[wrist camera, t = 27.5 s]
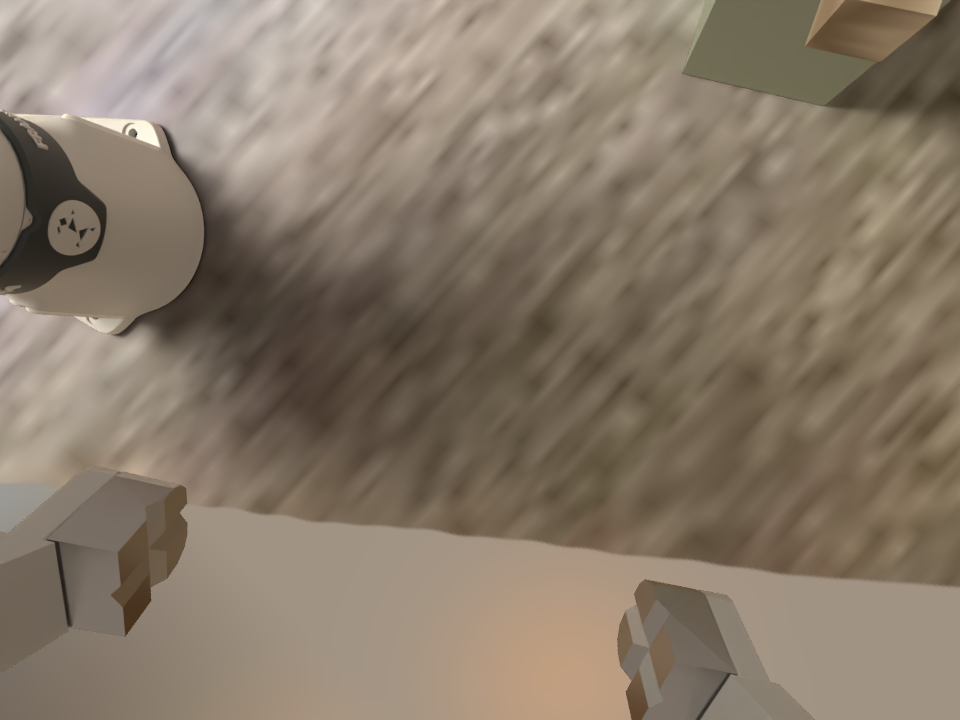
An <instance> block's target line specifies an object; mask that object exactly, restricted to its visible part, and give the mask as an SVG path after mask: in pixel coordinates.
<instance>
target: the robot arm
mask: <svg viewBox="0 0 960 720" xmlns="http://www.w3.org/2000/svg"><path fill="white" fill-rule="evenodd" d="M136 133H137V137H136V138H135V135H136ZM203 243H204V221H203V214H202V209H201V206H200V202H199V199H198V197H197V194H196V192H195V190H194V188H193V186H192V184H191V183H190V181H189V179H188V178H187V176H186V175H185V174H184V173H183V171H182V170H181V169H180V168H179V166H178V165H177V164H176V162H175V161H174V159H173V157H172V155H171V152H170V148H169V145H168V141H167V139H166V136H165V133H164V131H163V130H162V128H161V127H160V126H159V125H158V124H156V123H153V122H150V121H147V120H138V119H116V118H95V117H77V116H74V115H70V114H64V115H63V116H53V115H32V114H12V113H10V112H8V111H5V110H2V109H0V295H7V296H8V297H9V298H10V299H9V302H10V303H11V304H14V305H16V306H20V307H26V309H27V311H28V312H31V313H35V314H43V315H59V316H74V317H75V318H77V319H79V320H80V321H82V322H84V323H85V324H87V325H89V326H90V327H92V328H94V329H95V330H97V331H99V332H101V333H103V334H113V335H115V334H118V333H120V332H122V331H123V330H124V329H126V328H127V327H128V326H129V325H130V324H131V323H132V322H133V321H134V320H135V319H136V318H137V317H138V316H140V315H142V314H144V313H147V312H150V311H153V310H156V309H158V308H160V307H162V306H164V305H166V304H168V303H169V302H171V301H172V300H173V299H175V298H176V297H177V296H178V295H179V294H180V293H181V292H182V291H183V290H184V289H185V288H186V286H187V285H188V284H189V282H190V281H191V279H192V277H193V275H194V273H195V271H196V269H197V267H198V264H199V261H200V258H201V254H202V250H203ZM186 504H187V494H186V488H185V487H183V486H182V485H179V484H175V483H171V482H166V481H162V480H157V479H153V478H149V477H144V476H140V475H136V474H131V473H127V472H120V471H115V470H111V469H107V468H103V467H98V466H91V467H88V468H85V469H83V470H81V471H80V472H79V473H78V474H76V475H75V476H74V477H73V478H72V479H71V480H69V481H68V482H67V483H66V484H65V485H64V486H62V487H61V488H60V489H59V490H58V491H57V492H55V493H54V494H53V495H52V496H51V497H50V498H48V499H47V500H46V501H45V502H44V503H43V504H41V505H40V506H39V507H38V508H37V509H35V510H34V511H33V512H32V513H31V514H30V515H28V516H27V517H26V518H25V519H24V520H23V521H21V522H20V523H19V524H18V525H17V526H15V527H14V528H13V529H12V530H11V531H10V532H8V533H6V532H0V674H1V673H3V672H5V671H6V670H8V669H9V668H11V667H12V666H14V665H16V664H17V663H19V662H20V661H22V660H24V659H25V658H27V657H28V656H30V655H32V654H33V653H35V652H36V651H38V650H39V649H41V648H42V647H44V646H46V645H47V644H49V643H51V642H52V641H54V640H55V639H57V638H58V637H60V636H62V635H63V634H65V633H66V632H68V628H73V629H79V630H85V631H92V632H98V633H104V634H111V635H117V636H124V637H126V635H127V634H128V632H129V631H130V630H131V628H132V627H133V625H134V624H135V623H136V621H137V620H138V619H139V617H140V616H141V614H142V613H143V612H144V610H145V609H146V607H147V606H148V605H149V603H150V602H151V587H152V586H154V585H155V584H158V583H160V582H162V581H164V580H165V579H167V578H168V577H169V575H170V574H171V572H172V571H173V569H174V568H175V566H176V565H177V563H178V561H179V559H180V556H181V554H182V552H183V550H184V547H185V543H186V538H187V522H186V521H185V519H184V518H183V517H182V515H181V514H180V512H181V510H182V509H183V508H184V507H185V505H186ZM634 595H635V599H636V603H637V605H635V606H634V607H632V608H630V609H628V610H627V611H625V614H624V616H623V618H622V620H621V623H620V626H619V633H618V639H617V640H618V655H619V661H620V666H621V668H622V669H623V670H624V672H625V673H626V674H627V675H628V677H629V678H630V679H631V680H632V681H631V683H630V685H629V687H628V689H627V691H626V695H627V700H628V704H629V709H630V714H631V719H632V720H815V719H814V718H813V717H811V715H810V714H809V713H808V712H807V711H806V710H805V709H803V708H802V706H801V705H799V703H797V702H796V700H795V699H793V698H792V697H791V696H790V695H789V694H788V693H787V692H786V691H785V690H784V689H783V688H782V687H781V686H780V685H779V684H776V683H771V682H770V681H769V678H768V676H767V674H766V672H765V670H764V668H763V666H762V664H761V661H760V659H759V657H758V655H757V653H756V651H755V648H754V646H753V644H752V642H751V640H750V638H749V635H748V633H747V631H746V629H745V627H744V625H743V623H742V621H741V618H740V616H739V614H738V612H737V610H736V608H735V605H734V603H733V601H732V600H731V599H730V598H729V597H728V596H727V595H723V594H718V593H713V592H707V591H702V590H695V589H691V588H686V587H681V586H676V585H670V584H665V583H661V582H655V581H650V580H644V581H642V582H641V583H640V584H639V586H638V588H637V589H636V591H635V594H634Z"/></svg>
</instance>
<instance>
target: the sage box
mask: <svg viewBox="0 0 960 720" xmlns="http://www.w3.org/2000/svg"><path fill="white" fill-rule="evenodd" d="M950 1H951V0H942V3H941V5H940V8H939V10H940V9H941V8H942V7H944V6H945V5H946V4H947V3H949V2H950ZM820 2H821V0H706V2H705V5H704V8H703V11H702V14H701V17H700V21H699V24H698V27H697V30H696V33H695V36H694V39H693V42H692V45H691V48H690V51H689V54H688V57H687V60H686V63H685V66H684V69H683V72H682V73H683V74H687V75H692V76H696V77H700V78H705V79H709V80H713V81H718V82H722V83H726V84H731V85H735V86H739V87H744V88H748V89H752V90H757V91H761V92H765V93H770V94H774V95H778V96H783V97H787V98H791V99H795V100H800V101H804V102H808V103H813V104H817V105H821V106H825V105H826V104H827V103H828V102H829V101H831V100H832V99H833V98H834V97H835V96H837V95H838V94H839V93H840V92H842V91H843V90H844V89H845V88H846V87H848V86H849V85H850V84H851V83H852V82H854V81H855V80H856V79H857V78H858V77H860V76H861V75H862V74H863V73H864V72H866V71H867V70H868V69H869V68H870V67H872V66H873V65H874V64H875V63H876V62H873V61H868V60H864V59H859V58H854V57H850V56H845V55H841V54H836V53H831V52H827V51H822V50H818V49H813V48H809V47H805V44H806V41H807V38H808V36H809V33H810V30H811V27H812V24H813V22H814V19H815V16H816V13H817V10H818V7H819V5H820Z"/></svg>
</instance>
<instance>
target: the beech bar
mask: <svg viewBox="0 0 960 720" xmlns="http://www.w3.org/2000/svg"><path fill="white" fill-rule="evenodd" d="M941 3H942V0H821V2H820V5H819V7H818V10H817V13H816V16H815V19H814V22H813V24H812V27H811V30H810V33H809V36H808V38H807V41H806V44H805V47H809V48H813V49H818V50H822V51H827V52H831V53H836V54H841V55H845V56H850V57H854V58H859V59H864V60H868V61H873V62H877V63H880V62H881V61H882V60H884V59H885V58H886V57H887V56H888V55H890V54H891V53H892V52H893V51H894V50H896V49H897V48H898V47H899V46H901V45H902V44H903V43H904V42H905V41H907V40H908V39H909V38H910V37H912V36H913V35H914V34H915V33H916V32H918V31H919V30H920V29H921V28H922V27H924V26H925V25H926V24H927V23H929V22H930V21H931V20H932V19H933V18H935V17H936V16H937V13H938V11H939V8H940V5H941Z"/></svg>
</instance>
